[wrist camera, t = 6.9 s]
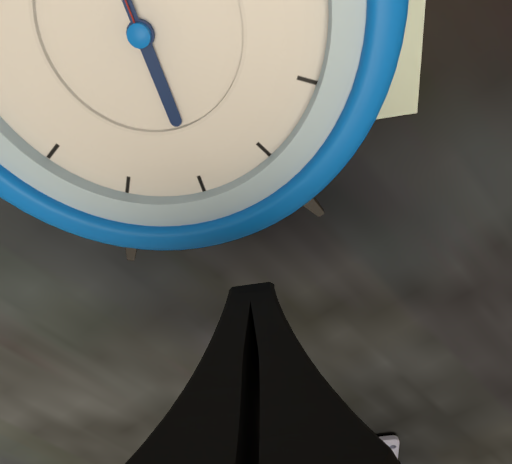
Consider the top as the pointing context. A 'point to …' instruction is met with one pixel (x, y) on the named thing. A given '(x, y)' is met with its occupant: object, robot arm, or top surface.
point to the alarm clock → (186, 111)
